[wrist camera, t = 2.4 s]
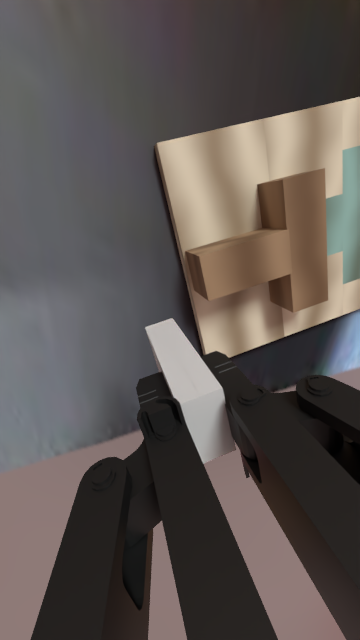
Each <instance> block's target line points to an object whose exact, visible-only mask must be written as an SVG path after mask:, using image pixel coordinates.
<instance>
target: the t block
mask: <svg viewBox="0 0 360 640" xmlns="http://www.w3.org/2000/svg"><path fill="white" fill-rule="evenodd" d="M257 187H258V196H259V205H260V214H261V223H262V228H260V229H257V230H254V231H250V232H247V233H244V234H240V235H237V236H233V237H230V238H227V239H223V240H220V241H217V242H213V243H210V244H207V245H203V246H200V247H197V248H193V249H190V250H187V251H185V253H186V257H187V261H188V266H189V270H190V275H191V279H192V283H193V288H194V291H196V292H197V293H198V294H200V295H201V296H202V297H204V298H205V299H206V300H208V301H211V300H214V299H217V298H220V297H223V296H226V295H229V294H232V293H235V292H238V291H241V290H244V289H247V288H250V287H253V286H256V285H259V284H262V283H265V282H268V284H269V293H270V302H272V303H274V304H276V305H278V306H280V307H282V308H285V309H287V310H289V311H291V312H293V313H295V312H297V311H300V310H303V309H306V308H308V307H311V306H314V305H317V304H320V303H322V302H325V301H328V269H327V228H326V186H325V168H323V169H318V170H313V171H308V172H303V173H299V174H294V175H290V176H287V177H283V178H279V179H275V180H272V181H268V182H264V183H261V184H257Z"/></svg>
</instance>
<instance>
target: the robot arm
mask: <svg viewBox="0 0 360 640" xmlns="http://www.w3.org/2000/svg"><path fill="white" fill-rule="evenodd" d="M145 329H146V332H147V335H148V338H149V342H150V345H151V348H152V351H153V354H154V357H155V360H156V363H157V366H158V369H159V372H158V373H156V374H153V375H150V376H147V377H145V378H142V379H139V382H138V384H137V387H136V390H137V394H138V399H139V403H140V408H141V409H140V410H139V412H138V415H137V421H138V423H139V426H140V428H141V431H142V433H143V436H144V440H143V442H142V444H141V445H140V447H139V448H138V449H137V450H136V451H135V452H134V453H132V454H131V455H130V456H128V457H127V458H126V459H124V460H121V459H119V458H117V457H108V458H105V459H102V460H100V461H98V462H97V463H95V464H94V465H92V466H91V467H90V468H89V469H88V470H87V472H86V473H85V474H84V476H83V478H82V480H81V482H80V484H79V487H78V490H77V494H76V497H75V500H74V503H73V506H72V510H71V513H70V517H69V519H68V523H67V526H66V529H65V532H64V535H63V538H62V542H61V545H60V548H59V551H58V555H57V558H56V561H55V564H54V567H53V570H52V574H51V577H50V580H49V583H48V587H47V590H46V593H45V596H44V599H43V602H42V605H41V609H40V612H39V615H38V618H37V622H36V625H35V628H34V631H33V634H32V637H31V640H148V625H149V605H150V603H149V602H150V584H151V564H152V563H151V561H152V542H153V528H154V527H155V526H156V525H157V524H158V523H159V522H160V521H163V527H164V531H165V536H166V541H167V545H168V550H169V555H170V560H171V564H172V569H173V574H174V578H175V583H176V588H177V593H178V597H179V602H180V607H181V611H182V616H183V621H184V626H185V630H186V635H187V640H278V639H277V636H276V634H275V631H274V629H273V627H272V624H271V622H270V620H269V617H268V615H267V613H266V610H265V608H264V605H263V603H262V601H261V598H260V596H259V594H258V591H257V589H256V587H255V585H254V582H253V580H252V577H251V575H250V573H249V570H248V568H247V566H246V563H245V561H244V558H243V556H242V554H241V551H240V549H239V547H238V544H237V542H236V540H235V537H234V535H233V533H232V530H231V528H230V526H229V523H228V521H227V519H226V516H225V514H224V512H223V509H222V507H221V504H220V502H219V500H218V497H217V495H216V493H215V490H214V488H213V486H212V483H211V481H210V479H209V476H208V474H207V472H206V469H205V467H204V463H206V462H209V461H211V460H213V459H216V458H218V457H220V456H223V455H225V454H227V453H229V452H232V451H234V450H236V447H235V443H234V441H235V442H236V444H237V445H238V447H239V449H240V452H241V457H242V462H243V467H244V471H245V474H246V478H248V477H249V473H250V475H251V476H252V478H253V480H254V482H255V483H256V485H257V487H258V489H259V490H260V492H261V494H262V495H263V497H264V499H265V500H266V502H267V504H268V506H269V507H270V509H271V511H272V513H273V514H274V516H275V518H276V520H277V521H278V523H279V525H280V526H281V528H282V530H283V532H284V533H285V535H286V537H287V538H288V540H289V542H290V543H291V545H292V547H293V549H294V550H295V552H296V554H297V556H298V557H299V559H300V561H301V562H302V564H303V566H304V568H305V569H306V571H307V573H308V574H309V576H310V578H311V580H312V581H313V583H314V585H315V586H316V588H317V590H318V592H319V593H320V595H321V596H322V599H323V600H324V602H325V604H326V605H327V607H328V609H329V611H330V612H331V614H332V615H333V617H334V619H335V621H336V623H337V624H338V626H339V628H340V629H341V631H342V633H343V634H344V636H345V638H346V640H360V391H359V390H357V389H355V388H353V387H351V386H349V385H346V384H344V383H342V382H340V381H337V380H335V379H333V378H330V377H327V376H322V375H312V376H307V377H305V378H302V379H301V380H300V381H299V382H298V383H297V385H296V391H291V392H283V393H270V392H269V391H268V390H267V389H265V388H264V387H262V386H258V385H253V384H252V383H251V382H250V381H249V380H248V379H247V377H246V376H245V375H244V374H243V373H242V372H241V371H240V370H239V369H238V368H237V367H236V365H235V364H234V363H233V362H231V360H230V359H229V358H228V357H227V356H226V354H223V353H221V352H218V351H214V352H211V353H209V354H206V355H203V356H199V354H198V353H197V352H196V350H195V349H194V348H193V346H192V345H191V343H190V342H189V341H188V339H187V338H186V336H185V335H184V334H183V332H182V331H181V330H180V328H179V327H178V325H177V324H176V323H175V321H174V320H173V318H171V319H168V320H165V321H162V322H159V323H156V324H153V325H150V326H147V327H145Z"/></svg>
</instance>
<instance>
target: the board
mask: <svg viewBox="0 0 360 640" xmlns="http://www.w3.org/2000/svg"><path fill="white" fill-rule="evenodd" d="M154 148H155V153H156V157H157V161H158V165H159V169H160V174H161V178H162V182H163V186H164V190H165V195H166V199H167V203H168V207H169V211H170V216H171V220H172V224H173V228H174V233H175V237H176V241H177V245H178V249H179V254H180V258H181V262H182V266H183V270H184V275H185V279H186V283H187V287H188V291H189V296H190V300H191V304H192V308H193V312H194V317H195V321H196V325H197V329H198V334H199V338H200V342H201V346H202V350H203V355H206V354H209V353H211V352H214V351H218V352H221V353H223V354H226V356H227V357H228V358H229V357H232V356H235V355H237V354H240V353H243V352H245V351H248V350H251V349H253V348H256V347H259V346H261V345H264V344H267V343H269V342H272V341H275V340H277V339H280V338H283V337H285V336H288V335H291V334H293V333H296V332H299V331H301V330H304V329H307V328H310V327H312V326H315V325H318V324H320V323H323V322H326V321H328V320H331V319H334V318H336V317H339V316H342V315H344V314H347V313H350V312H352V311H355V310H358V309H360V97H357V98H353V99H349V100H344V101H340V102H335V103H331V104H327V105H322V106H318V107H313V108H309V109H305V110H300V111H296V112H291V113H287V114H283V115H278V116H274V117H269V118H265V119H261V120H256V121H252V122H247V123H243V124H239V125H234V126H230V127H226V128H221V129H217V130H212V131H208V132H204V133H199V134H195V135H190V136H186V137H182V138H177V139H173V140H168V141H164V142H160V143H156V145H155V146H154ZM323 168H325V186H326V228H327V269H328V301H325V302H322V303H320V304H317V305H314V306H311V307H308V308H306V309H303V310H300V311H297V312H295V313H293V312H291V311H289V310H287V309H285V308H282V307H280V306H278V305H276V304H274V303H272V302H270V293H269V284H268V282H265V283H262V284H259V285H256V286H253V287H250V288H247V289H244V290H241V291H238V292H235V293H232V294H229V295H226V296H223V297H220V298H217V299H214V300H211V301H208V300H206V299H205V298H204V297H202V296H201V295H200V294H198V293H197V292H196V291H194V288H193V283H192V279H191V275H190V270H189V266H188V261H187V257H186V253H185V251H187V250H190V249H193V248H197V247H200V246H203V245H207V244H210V243H213V242H217V241H220V240H223V239H227V238H230V237H233V236H237V235H240V234H244V233H247V232H250V231H254V230H257V229H260V228H262V223H261V214H260V205H259V196H258V187H257V184H261V183H264V182H268V181H272V180H275V179H279V178H283V177H287V176H290V175H294V174H299V173H303V172H308V171H313V170H318V169H323Z"/></svg>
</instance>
